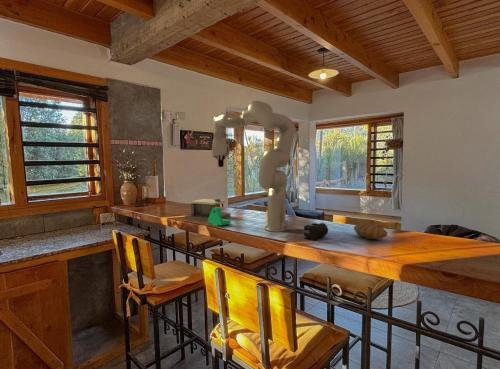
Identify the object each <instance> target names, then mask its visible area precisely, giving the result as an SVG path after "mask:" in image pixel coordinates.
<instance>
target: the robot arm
mask: <svg viewBox="0 0 500 369" xmlns="http://www.w3.org/2000/svg"><path fill="white" fill-rule="evenodd" d="M241 112H242V113H241V114H237V115H235V114H231V113H222V114H220V115H214V117H213V119H212V121H213V123H212V125H213V139H212V144H211V153H212V158H214V159H216V160H217V166H218V168H223V167H224V165H225V163H224V161H225V159H226V158H228V157H229V155H230V144H229V143H230V142H229V139H228V138H227V137H229V134H228V133H227V128H232V129H233V128H234V129H238V128H242V127H247V126H249V124H252V123H255V122H257V123H258V124H259V125H260V126H262V127H263V128H264V129H267V130H271V131H277V132H278V134H277V136H276V139H275V140H274V141H275V143H274V148H268V149H266V150H265V151H264V152H263V153H262V156H261V159H260V166H259V171H258V175H257V176H258V177H257V179H258V180H257V181H258V184H259V186H260V187H261V188H262V189H266V190H268V193H267V225H265V226H264V230H265V231H268V232H273V233H274V232H276V233H278V232H286V231H288V230H289V228H293V227H294V224H293V223H290V222H288V220H286V211H287V210H286V209H287V207H286V205H287V204H286V198H287V197H286V194H287V186H288V175H287V173H286V172H285V171H283V170H281V169H279V168H285V167H286V166H288V164H289V160H290V156H291V151H292V146H293V140H294V138H295V137H294V136H295V132H296V127H295V123H294V122H293V119H291V118H290V117H288V116H287V115H284V114H282V113H281V114H280V113H277V112H273V107H272V105H270V104H269V103H267V102H264V101H260V100H253V101H251V102H250V103H249V105H248V107H244V108H243V110H242V111H241Z"/></svg>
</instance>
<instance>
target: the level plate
mask: <svg viewBox="0 0 500 369" xmlns="http://www.w3.org/2000/svg"><path fill="white" fill-rule="evenodd" d="M191 203H197V204H210V205H215V206H216V205H218V204H223V203H226V200H225V199H221V198H211V199H210V198H200V199H195V200H191V202H190V204H191Z"/></svg>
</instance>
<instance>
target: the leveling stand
mask: <svg viewBox="0 0 500 369" xmlns="http://www.w3.org/2000/svg"><path fill="white" fill-rule="evenodd" d="M215 207H216V204H215V205H210V204H197V203H191V202H190V214H188V215H187V214H186V215H184V220H192V221H200V220H201V222H208V218H209V216H210V213H211V211H212V209H213V208H215ZM220 215H221V218H222V219H226V218H230V217H231V213H230V212H221V214H220Z"/></svg>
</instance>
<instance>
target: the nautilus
mask: <svg viewBox="0 0 500 369" xmlns="http://www.w3.org/2000/svg"><path fill="white" fill-rule="evenodd" d="M371 220H372V219H371ZM371 220H363V221H359V222H358V223H356V224H355V226H354V227H353V230H354V232H355V233H356V234H357V235H358V236H361V237H363V238H364V239H365V240H376V241H379V239H383V238H386V237H387V236H388V231H387V230H385V228H384V227H382V225H380V224H378V223H377V222H376V221H371Z"/></svg>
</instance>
